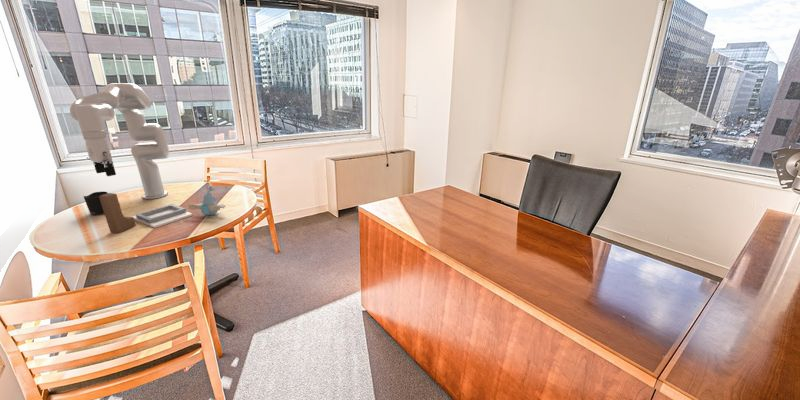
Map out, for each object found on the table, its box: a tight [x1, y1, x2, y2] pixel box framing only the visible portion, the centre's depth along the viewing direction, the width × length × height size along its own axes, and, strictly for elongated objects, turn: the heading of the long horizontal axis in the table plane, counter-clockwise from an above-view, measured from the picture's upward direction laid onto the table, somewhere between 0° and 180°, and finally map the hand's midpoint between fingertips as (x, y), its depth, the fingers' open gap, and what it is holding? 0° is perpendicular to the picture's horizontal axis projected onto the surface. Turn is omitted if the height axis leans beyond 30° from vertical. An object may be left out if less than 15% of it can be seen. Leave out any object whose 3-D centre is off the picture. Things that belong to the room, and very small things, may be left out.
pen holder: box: [83, 191, 108, 216], centre depth 174 cm, size 9×9×10 cm
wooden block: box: [99, 192, 137, 234], centre depth 153 cm, size 9×4×18 cm, turn 169°
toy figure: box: [188, 184, 226, 216], centre depth 172 cm, size 17×10×15 cm, turn 84°
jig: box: [131, 203, 193, 229], centre depth 170 cm, size 22×18×3 cm
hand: (106, 174), depth 147 cm, fingers open, 9 cm apart
